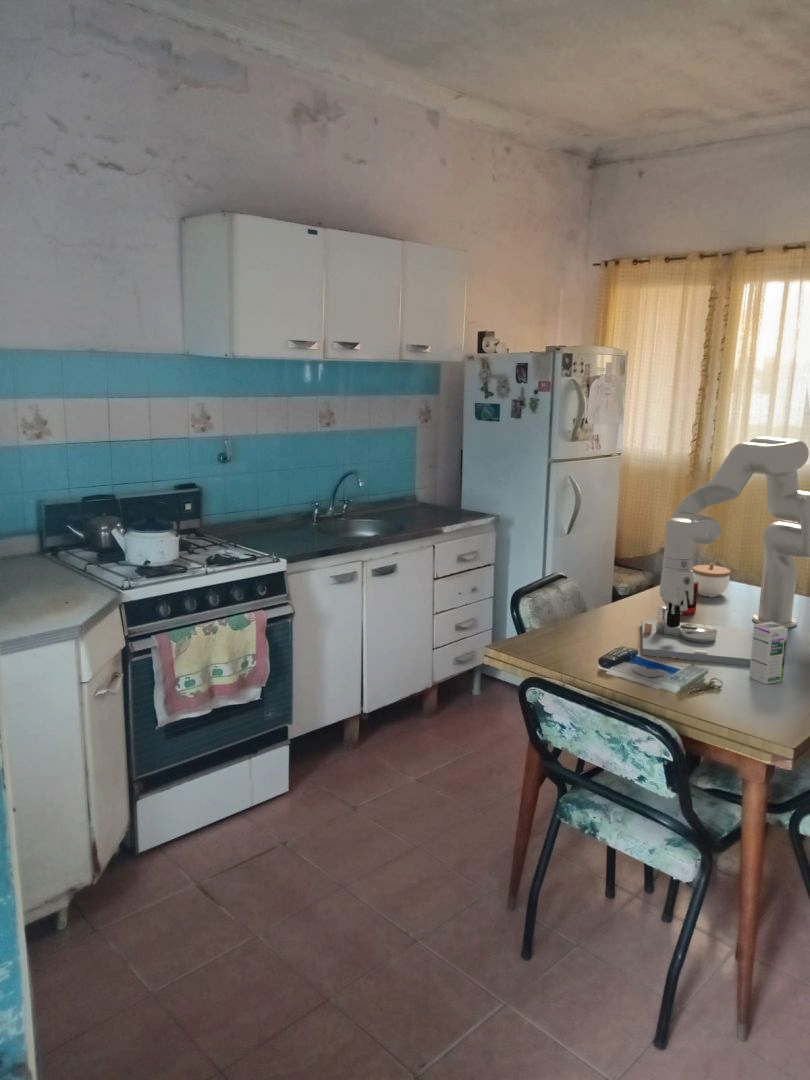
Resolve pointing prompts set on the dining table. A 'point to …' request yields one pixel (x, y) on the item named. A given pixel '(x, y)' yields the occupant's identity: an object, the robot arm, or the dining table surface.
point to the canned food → (693, 607)
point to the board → (699, 645)
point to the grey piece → (685, 629)
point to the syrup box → (768, 652)
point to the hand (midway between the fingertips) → (673, 626)
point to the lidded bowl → (711, 579)
